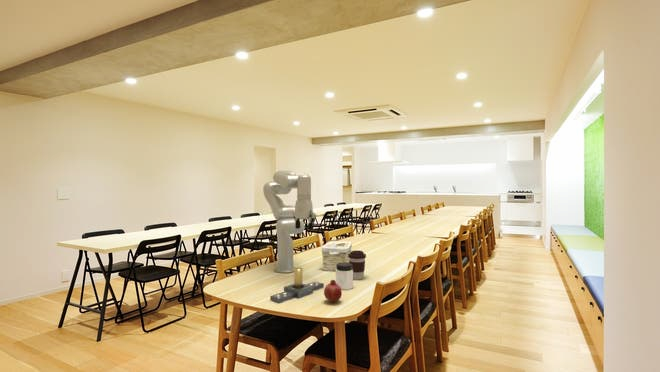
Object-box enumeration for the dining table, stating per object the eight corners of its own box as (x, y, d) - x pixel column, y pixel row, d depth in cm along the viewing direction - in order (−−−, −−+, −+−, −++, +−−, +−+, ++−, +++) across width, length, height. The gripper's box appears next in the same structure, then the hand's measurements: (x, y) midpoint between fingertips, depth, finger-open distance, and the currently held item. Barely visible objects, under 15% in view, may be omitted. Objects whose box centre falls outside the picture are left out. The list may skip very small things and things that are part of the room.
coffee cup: (345, 279, 189) (345, 252, 189) (352, 274, 198) (352, 249, 198) (361, 281, 185) (361, 254, 185) (368, 277, 194) (368, 250, 193)
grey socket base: (267, 299, 157) (267, 292, 157) (312, 284, 180) (312, 278, 180) (282, 304, 150) (282, 296, 150) (326, 288, 173) (326, 281, 173)
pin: (292, 293, 165) (292, 268, 165) (298, 291, 168) (298, 267, 168) (298, 295, 162) (298, 270, 162) (304, 293, 165) (304, 268, 165)
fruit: (333, 297, 159) (333, 276, 159) (345, 302, 153) (345, 280, 153) (320, 301, 154) (320, 279, 154) (332, 306, 148) (332, 283, 148)
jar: (333, 289, 172) (333, 265, 172) (338, 284, 180) (338, 261, 180) (350, 290, 169) (350, 266, 169) (354, 285, 177) (354, 262, 177)
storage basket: (328, 262, 230) (328, 240, 230) (352, 263, 227) (352, 241, 227) (320, 271, 207) (320, 247, 207) (347, 272, 204) (347, 248, 203)
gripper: (288, 197, 189) (288, 228, 189) (310, 198, 177) (310, 231, 178) (297, 197, 194) (298, 227, 194) (320, 198, 183) (320, 229, 183)
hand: (304, 229), depth 186 cm, fingers open, 9 cm apart
